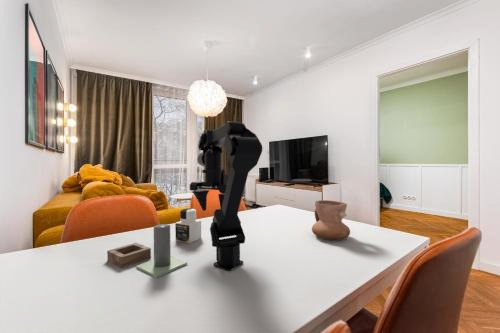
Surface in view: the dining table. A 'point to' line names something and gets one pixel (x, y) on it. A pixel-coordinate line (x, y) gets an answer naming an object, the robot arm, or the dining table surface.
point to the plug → (162, 245)
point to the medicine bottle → (188, 226)
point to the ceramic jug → (330, 220)
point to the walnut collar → (128, 254)
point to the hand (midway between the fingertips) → (213, 212)
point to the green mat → (157, 271)
